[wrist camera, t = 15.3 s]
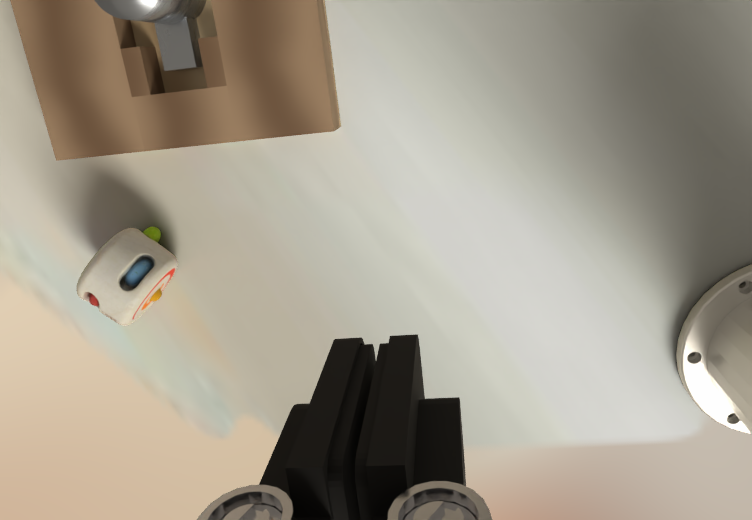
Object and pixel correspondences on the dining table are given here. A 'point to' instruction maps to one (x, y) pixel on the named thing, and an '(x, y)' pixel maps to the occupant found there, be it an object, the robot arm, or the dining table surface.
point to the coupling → (166, 27)
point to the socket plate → (178, 76)
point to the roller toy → (127, 274)
